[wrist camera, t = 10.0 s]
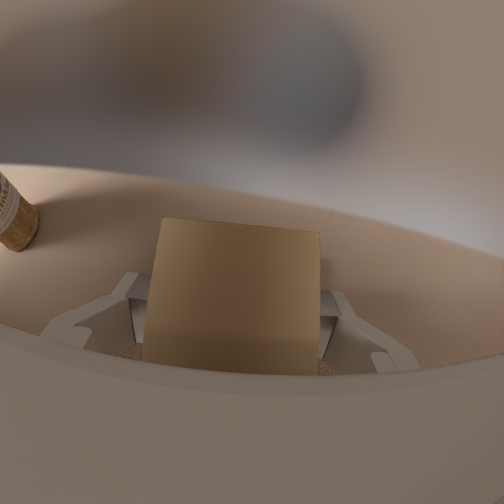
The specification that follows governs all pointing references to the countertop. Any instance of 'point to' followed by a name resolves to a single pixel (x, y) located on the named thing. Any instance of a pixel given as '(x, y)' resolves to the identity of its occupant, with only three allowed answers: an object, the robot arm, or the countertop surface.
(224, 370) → the oak block
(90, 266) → the countertop surface
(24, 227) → the sprinkles bottle
